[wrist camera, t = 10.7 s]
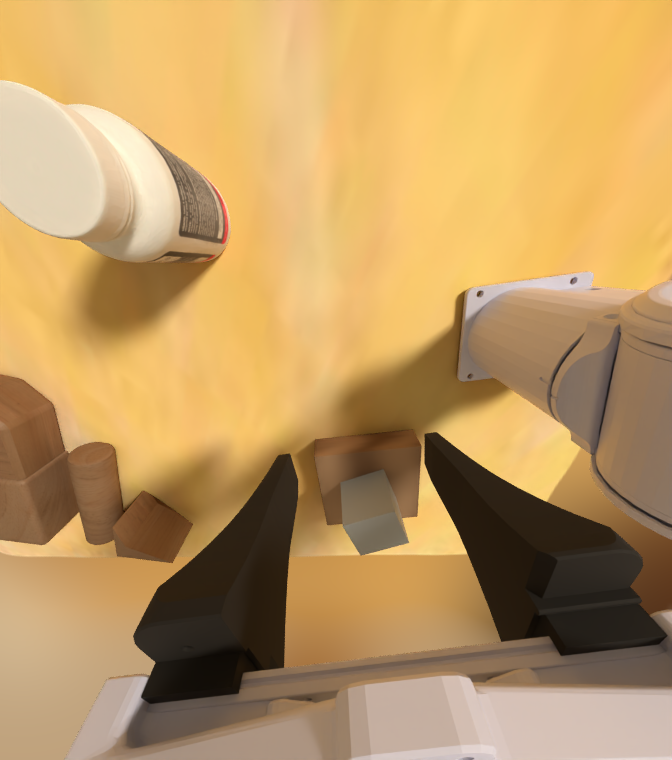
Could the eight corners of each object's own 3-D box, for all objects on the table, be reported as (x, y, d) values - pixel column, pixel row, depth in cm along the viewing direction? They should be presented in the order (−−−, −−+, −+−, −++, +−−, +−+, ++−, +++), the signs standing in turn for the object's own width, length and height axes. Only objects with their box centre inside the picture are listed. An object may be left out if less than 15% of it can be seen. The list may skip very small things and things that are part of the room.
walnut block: (411, 426, 25) (421, 445, 22) (409, 493, 30) (417, 516, 27) (315, 436, 25) (314, 457, 23) (327, 501, 30) (327, 525, 27)
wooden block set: (-17, 556, 24) (-104, 401, 16) (45, 504, 29) (0, 368, 21) (167, 578, 26) (163, 450, 18) (194, 526, 31) (199, 410, 24)
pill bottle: (171, 145, 15) (-57, -26, 6) (248, 213, 16) (154, 154, 8) (137, 224, 17) (-80, 180, 8) (209, 279, 18) (97, 293, 9)
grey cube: (383, 469, 24) (394, 511, 20) (396, 498, 25) (409, 542, 21) (340, 482, 24) (342, 526, 20) (355, 510, 26) (360, 555, 22)
